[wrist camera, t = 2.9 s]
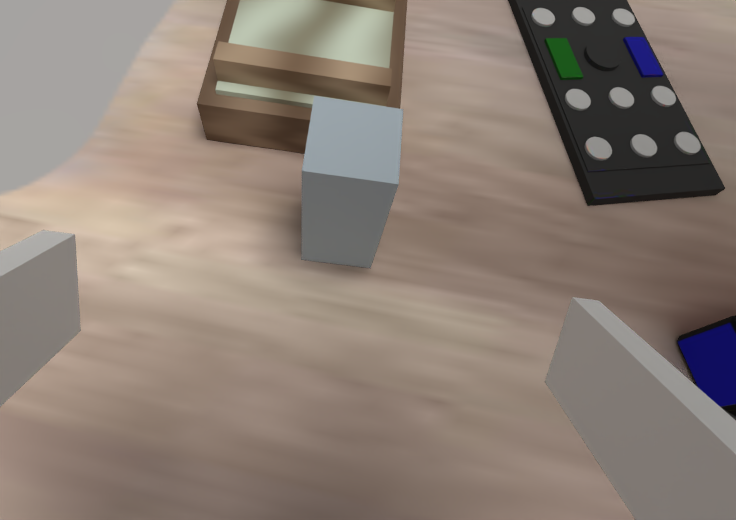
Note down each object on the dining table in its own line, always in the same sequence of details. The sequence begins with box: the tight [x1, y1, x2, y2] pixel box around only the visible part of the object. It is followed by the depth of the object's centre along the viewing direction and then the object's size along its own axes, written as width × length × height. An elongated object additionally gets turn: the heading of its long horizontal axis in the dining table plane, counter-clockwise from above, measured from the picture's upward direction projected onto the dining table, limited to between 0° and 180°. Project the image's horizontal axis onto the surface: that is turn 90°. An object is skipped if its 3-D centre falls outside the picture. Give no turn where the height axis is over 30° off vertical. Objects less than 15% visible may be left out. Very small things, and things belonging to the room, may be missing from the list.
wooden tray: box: [197, 0, 407, 153], centre depth 35 cm, size 13×14×6 cm
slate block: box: [301, 96, 403, 268], centre depth 28 cm, size 4×4×10 cm
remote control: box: [508, 0, 725, 206], centre depth 42 cm, size 11×30×2 cm, turn 9°
